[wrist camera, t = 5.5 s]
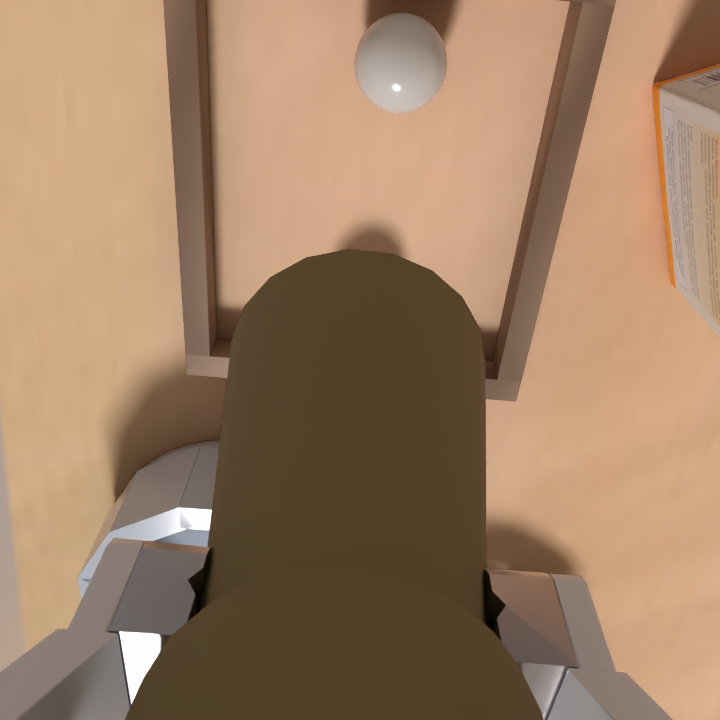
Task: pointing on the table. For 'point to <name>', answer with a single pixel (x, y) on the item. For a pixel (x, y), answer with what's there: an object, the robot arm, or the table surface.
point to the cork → (346, 513)
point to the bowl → (162, 503)
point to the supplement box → (691, 185)
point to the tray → (538, 227)
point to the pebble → (400, 63)
